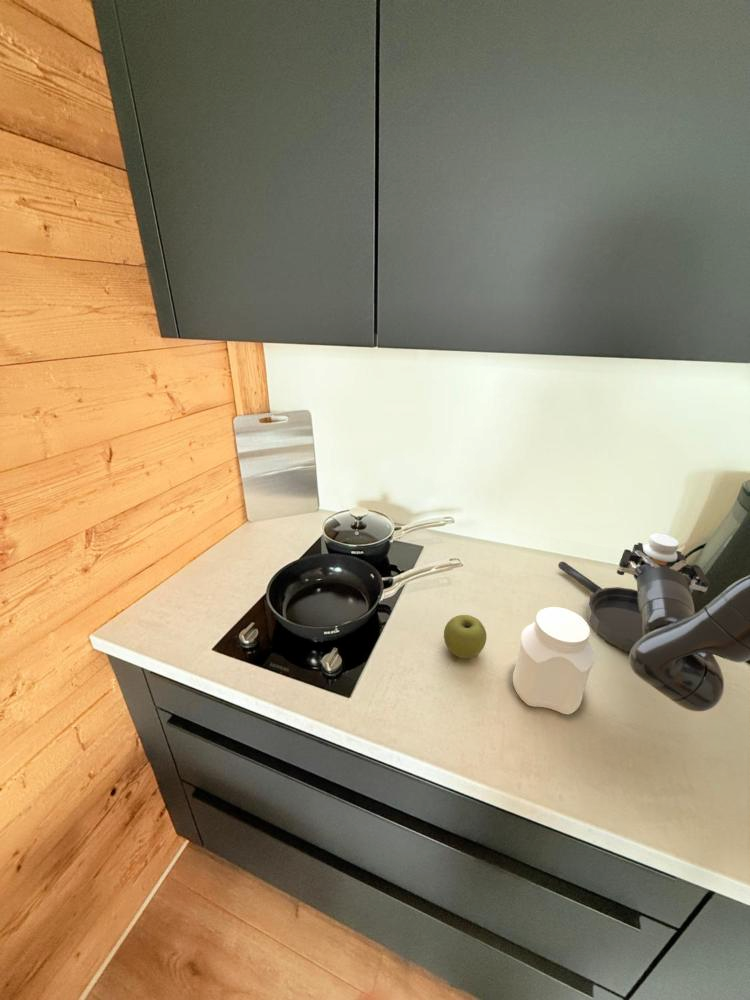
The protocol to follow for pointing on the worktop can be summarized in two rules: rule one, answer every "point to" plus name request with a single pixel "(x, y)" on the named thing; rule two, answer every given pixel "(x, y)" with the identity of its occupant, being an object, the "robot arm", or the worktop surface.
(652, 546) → the pill bottle
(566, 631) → the jar
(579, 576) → the pan handle
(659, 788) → the worktop surface
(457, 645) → the apple
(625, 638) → the pan
